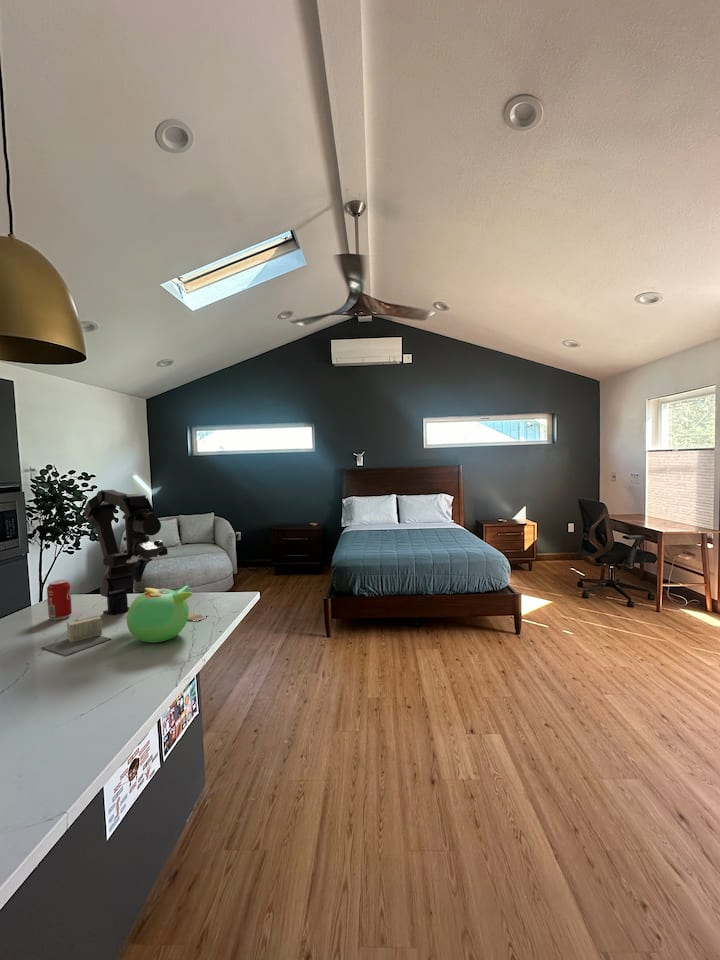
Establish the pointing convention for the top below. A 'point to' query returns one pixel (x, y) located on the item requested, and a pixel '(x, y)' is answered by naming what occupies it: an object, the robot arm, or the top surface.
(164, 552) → the robot arm
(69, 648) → the mat
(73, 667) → the top surface
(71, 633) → the small box
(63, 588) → the beverage can
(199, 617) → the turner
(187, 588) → the toy bird
